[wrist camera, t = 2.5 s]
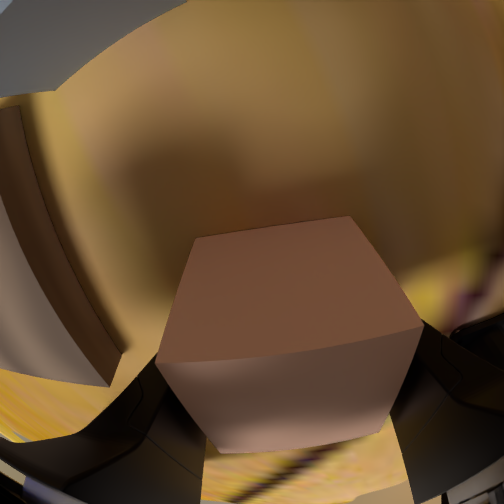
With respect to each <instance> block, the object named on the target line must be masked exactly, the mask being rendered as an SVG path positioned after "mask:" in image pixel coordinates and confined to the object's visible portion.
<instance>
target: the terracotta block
mask: <svg viewBox="0 0 504 504" xmlns="http://www.w3.org/2000/svg"><path fill="white" fill-rule="evenodd" d="M423 328H424V324H423V322H422V320H421V319H420V317H419V315H418V314H417V312H416V311H415V309H414V307H413V306H412V304H411V302H410V301H409V299H408V298H407V296H406V295H405V293H404V291H403V290H402V288H401V287H400V285H399V284H398V282H397V281H396V279H395V278H394V276H393V275H392V273H391V272H390V270H389V269H388V267H387V266H386V265H385V263H384V262H383V260H382V259H381V257H380V256H379V254H378V253H377V252H376V250H375V249H374V247H373V246H372V245H371V243H370V242H369V241H368V239H367V238H366V236H365V235H364V234H363V232H362V231H361V230H360V228H359V227H358V226H357V224H356V223H355V222H354V221H353V219H352V218H351V217H350V216H344V217H336V218H329V219H321V220H314V221H307V222H299V223H292V224H285V225H278V226H271V227H265V228H258V229H251V230H244V231H238V232H231V233H225V234H219V235H212V236H206V237H200V238H195V241H194V244H193V247H192V249H191V252H190V255H189V258H188V261H187V263H186V266H185V269H184V272H183V275H182V278H181V281H180V284H179V287H178V290H177V293H176V296H175V299H174V302H173V305H172V308H171V311H170V314H169V317H168V321H167V324H166V327H165V330H164V334H163V337H162V340H161V343H160V347H159V350H158V354H157V357H156V360H155V364H156V366H157V368H158V369H159V371H160V372H161V374H162V375H163V377H164V378H165V380H166V381H167V383H168V384H169V386H170V387H171V389H172V390H173V392H174V393H175V395H176V396H177V398H178V399H179V400H180V402H181V403H182V405H183V406H184V407H185V409H186V410H187V412H188V413H189V414H190V416H191V417H192V418H193V420H194V421H195V422H196V424H197V425H198V426H199V427H200V429H201V430H202V431H203V433H204V434H205V435H206V436H207V438H208V439H209V440H210V441H211V442H212V444H213V445H214V446H215V447H216V448H217V450H218V451H219V452H220V453H255V452H270V451H281V450H290V449H298V448H306V447H312V446H319V445H325V444H330V443H335V442H340V441H345V440H350V439H354V438H358V437H363V436H367V435H371V434H374V433H378V432H379V431H380V429H381V427H382V426H383V424H384V422H385V420H386V418H387V416H388V414H389V412H390V410H391V408H392V406H393V404H394V401H395V399H396V397H397V395H398V393H399V390H400V388H401V386H402V384H403V381H404V379H405V377H406V374H407V372H408V369H409V367H410V364H411V362H412V359H413V356H414V354H415V351H416V348H417V345H418V343H419V340H420V337H421V334H422V331H423Z"/></svg>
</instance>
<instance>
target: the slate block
mask: <svg viewBox="0 0 504 504" xmlns="http://www.w3.org/2000/svg"><path fill="white" fill-rule="evenodd" d="M186 2H187V1H186V0H0V98H1V97H7V96H13V95H20V94H27V93H35V92H44V91H55V90H56V89H57V88H58V87H60V86H61V85H62V84H63V83H64V82H65V81H66V80H67V79H69V78H70V77H71V76H72V75H73V74H74V73H76V72H77V71H78V70H79V69H80V68H82V67H83V66H84V65H85V64H87V63H88V62H89V61H90V60H92V59H93V58H94V57H96V56H97V55H98V54H100V53H101V52H102V51H104V50H105V49H107V48H108V47H109V46H111V45H112V44H114V43H115V42H117V41H118V40H120V39H121V38H123V37H124V36H126V35H127V34H129V33H131V32H132V31H134V30H135V29H137V28H139V27H140V26H142V25H144V24H145V23H147V22H149V21H151V20H152V19H154V18H156V17H158V16H160V15H162V14H163V13H165V12H167V11H169V10H171V9H173V8H175V7H177V6H179V5H181V4H183V3H186Z"/></svg>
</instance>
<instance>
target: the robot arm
mask: <svg viewBox="0 0 504 504" xmlns="http://www.w3.org/2000/svg"><path fill="white" fill-rule="evenodd" d="M420 319H421V318H420ZM421 320H422V319H421ZM422 322H423V324H424V328H423V331H422V334H421V337H420V340H419V343H418V345H417V348H416V351H415V354H414V356H413V359H412V362H411V364H410V367H409V369H408V372H407V374H406V377H405V379H404V381H403V384H402V386H401V388H400V390H399V393H398V395H397V397H396V399H395V401H394V404H393V406H392V408H391V410H390V412H389V413H390V416H391V419H392V423H393V426H394V429H395V432H396V436H397V439H398V442H399V446H400V449H401V453H403V454H402V457H403V460H404V464H405V468H406V471H407V475H408V479H409V483H410V487H411V491H412V495H413V500H414V504H421V503H423V502H425V501H428V500H430V499H432V498H435V497H437V496H439V495H441V502H442V503H441V504H504V314H502V315H499V316H497V317H495V318H492V319H490V320H487V321H485V322H482V323H480V324H477V325H475V326H472V327H470V328H467V329H464V330H461V331H459V332H457V333H455V334H454V335H453V336H452V337H451V338H448V337H447V336H445V335H444V334H442V333H441V332H439V331H438V330H437V329H435V328H434V327H432V326H431V325H429V324H428V323H426V322H425V321H424V320H422ZM157 354H158V352H157V353H156V355H155V356H154V357H153V358H152V359H151V360H150V361H149V363H148V364H147V365H146V366H145V367H144V368H143V369H142V371H141V372H140V373H139V374H138V375H137V377H135V379H134V380H133V381H132V382H131V383H130V384H129V385H128V386H127V388H126V389H125V390H124V391H123V392H122V393H121V394H120V395H119V396H118V397H117V398H116V399H115V400H114V401H113V402H112V403H111V404H110V405H109V406H108V407H107V408H106V409H105V410H104V411H102V412H101V413H100V414H99V415H98V416H97V417H96V418H95V419H94V420H93V421H92V422H91V423H90V424H88V425H87V426H86V427H85V428H84V429H82V430H81V431H79V432H77V433H75V434H72V435H68V436H63V437H58V438H52V439H46V440H40V441H33V442H26V443H14V442H10V441H8V440H6V439H4V438H2V437H0V459H1V460H2V461H4V462H5V463H7V464H8V465H10V466H11V467H13V468H14V469H16V470H17V471H19V472H21V473H22V474H24V475H25V476H26V478H25V482H24V485H22V484H20V483H19V482H17V481H15V480H14V479H12V478H10V477H9V476H7V475H5V474H4V473H2V472H1V471H0V504H200V499H201V488H202V477H203V466H204V456H205V447H206V437H207V436H206V435H205V434H204V433H203V431H202V430H201V429H200V427H199V426H198V425H197V424H196V422H195V421H194V420H193V418H192V417H191V416H190V414H189V413H188V412H187V410H186V409H185V407H184V406H183V405H182V403H181V402H180V400H179V399H178V398H177V396H176V395H175V393H174V392H173V390H172V389H171V387H170V386H169V384H168V383H167V381H166V380H165V378H164V377H163V375H162V374H161V372H160V371H159V369H158V368H157V366H156V364H155V360H156V357H157Z"/></svg>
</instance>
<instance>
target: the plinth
mask: <svg viewBox="0 0 504 504" xmlns="http://www.w3.org/2000/svg"><path fill="white" fill-rule="evenodd" d="M121 356H122V355H121V354H120V352H119V351H118V349H117V347H116V346H115V344H114V343H113V341H112V340H111V338H110V337H109V335H108V333H107V332H106V330H105V329H104V327H103V325H102V324H101V322H100V320H99V319H98V317H97V315H96V313H95V312H94V310H93V308H92V306H91V305H90V303H89V301H88V299H87V297H86V295H85V294H84V292H83V290H82V288H81V286H80V284H79V282H78V280H77V278H76V276H75V274H74V272H73V270H72V268H71V266H70V264H69V262H68V260H67V257H66V255H65V253H64V251H63V249H62V246H61V244H60V242H59V239H58V237H57V235H56V232H55V230H54V227H53V225H52V222H51V220H50V217H49V214H48V212H47V209H46V206H45V203H44V201H43V198H42V195H41V192H40V189H39V186H38V183H37V179H36V176H35V173H34V169H33V166H32V162H31V159H30V155H29V151H28V147H27V143H26V139H25V134H24V130H23V125H22V120H21V115H20V109H19V105H18V106H13V107H8V108H3V109H0V368H1V369H5V370H9V371H13V372H17V373H21V374H26V375H30V376H35V377H40V378H45V379H51V380H56V381H63V382H69V383H76V384H83V385H92V386H101V387H110V386H111V383H112V380H113V377H114V375H115V372H116V369H117V367H118V364H119V361H120V359H121Z"/></svg>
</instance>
